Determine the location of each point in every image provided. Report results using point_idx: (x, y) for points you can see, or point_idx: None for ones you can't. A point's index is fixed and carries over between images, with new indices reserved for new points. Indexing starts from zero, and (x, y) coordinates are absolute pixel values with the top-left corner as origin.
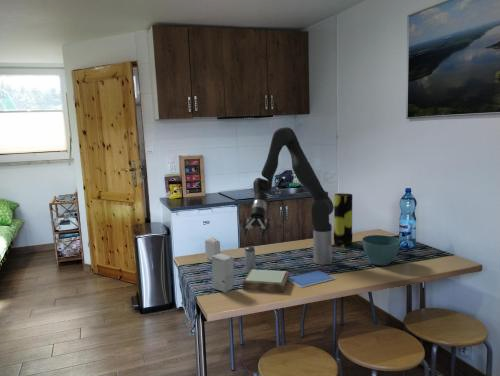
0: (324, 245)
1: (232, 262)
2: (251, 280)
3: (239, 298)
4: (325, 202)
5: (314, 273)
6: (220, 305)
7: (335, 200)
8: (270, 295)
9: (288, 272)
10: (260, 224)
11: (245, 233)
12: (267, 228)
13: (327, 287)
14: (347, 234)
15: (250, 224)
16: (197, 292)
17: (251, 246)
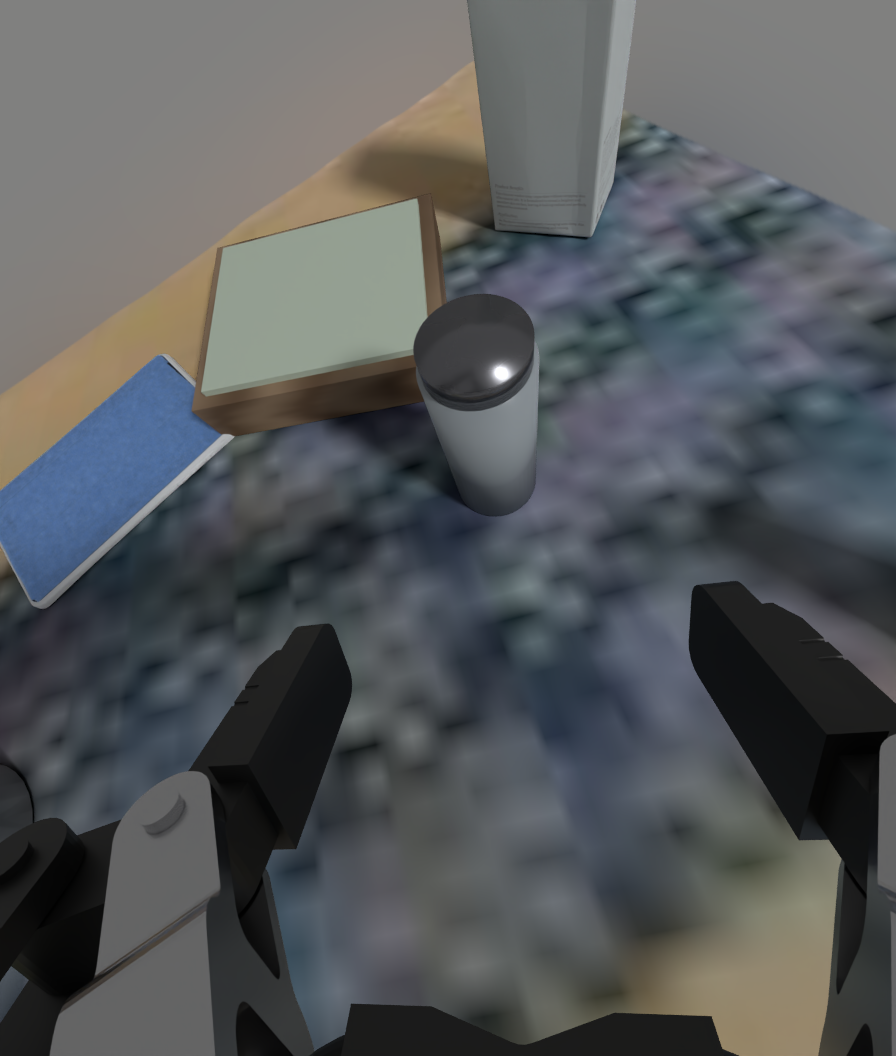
0: None
1: (471, 8)
2: (381, 208)
3: (423, 171)
4: None
5: (69, 543)
6: (477, 103)
7: None
8: None
9: (195, 408)
10: (224, 1012)
11: (769, 618)
12: (77, 839)
13: (50, 401)
14: None
15: (884, 964)
16: (657, 132)
17: (465, 387)
